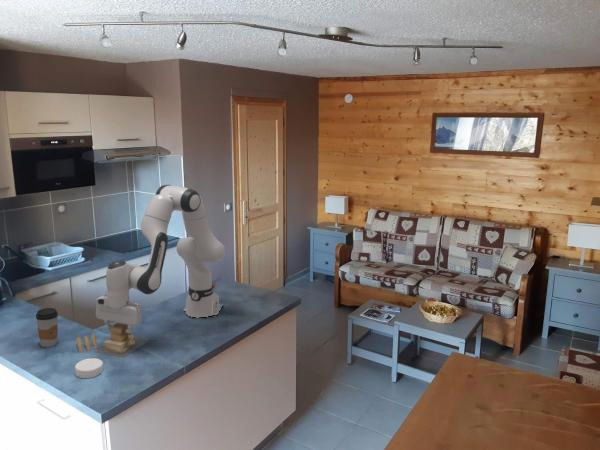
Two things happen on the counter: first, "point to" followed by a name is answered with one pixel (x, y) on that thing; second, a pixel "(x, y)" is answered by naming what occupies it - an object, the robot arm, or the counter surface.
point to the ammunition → (87, 343)
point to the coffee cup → (47, 326)
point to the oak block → (119, 332)
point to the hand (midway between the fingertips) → (119, 331)
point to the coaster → (89, 368)
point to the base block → (119, 345)
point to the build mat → (137, 344)
